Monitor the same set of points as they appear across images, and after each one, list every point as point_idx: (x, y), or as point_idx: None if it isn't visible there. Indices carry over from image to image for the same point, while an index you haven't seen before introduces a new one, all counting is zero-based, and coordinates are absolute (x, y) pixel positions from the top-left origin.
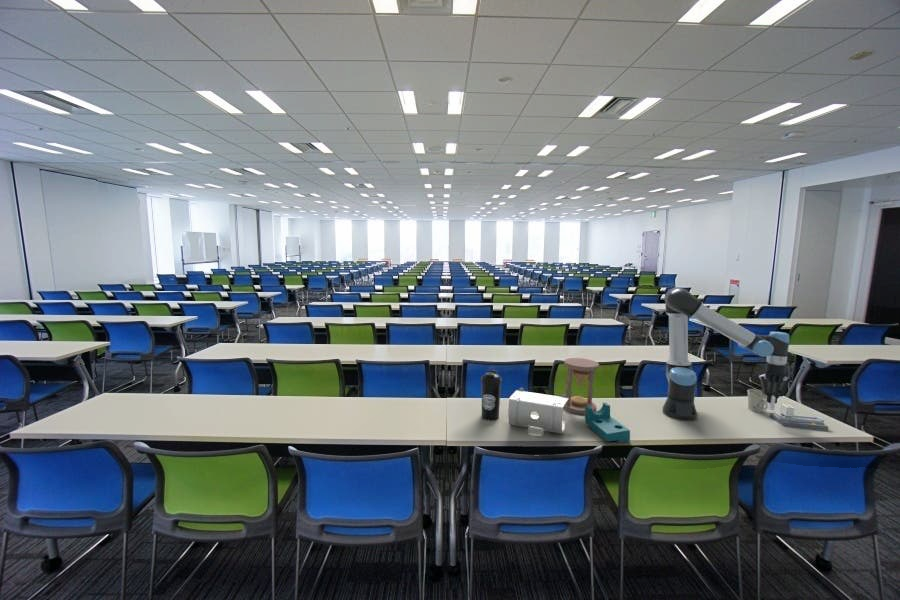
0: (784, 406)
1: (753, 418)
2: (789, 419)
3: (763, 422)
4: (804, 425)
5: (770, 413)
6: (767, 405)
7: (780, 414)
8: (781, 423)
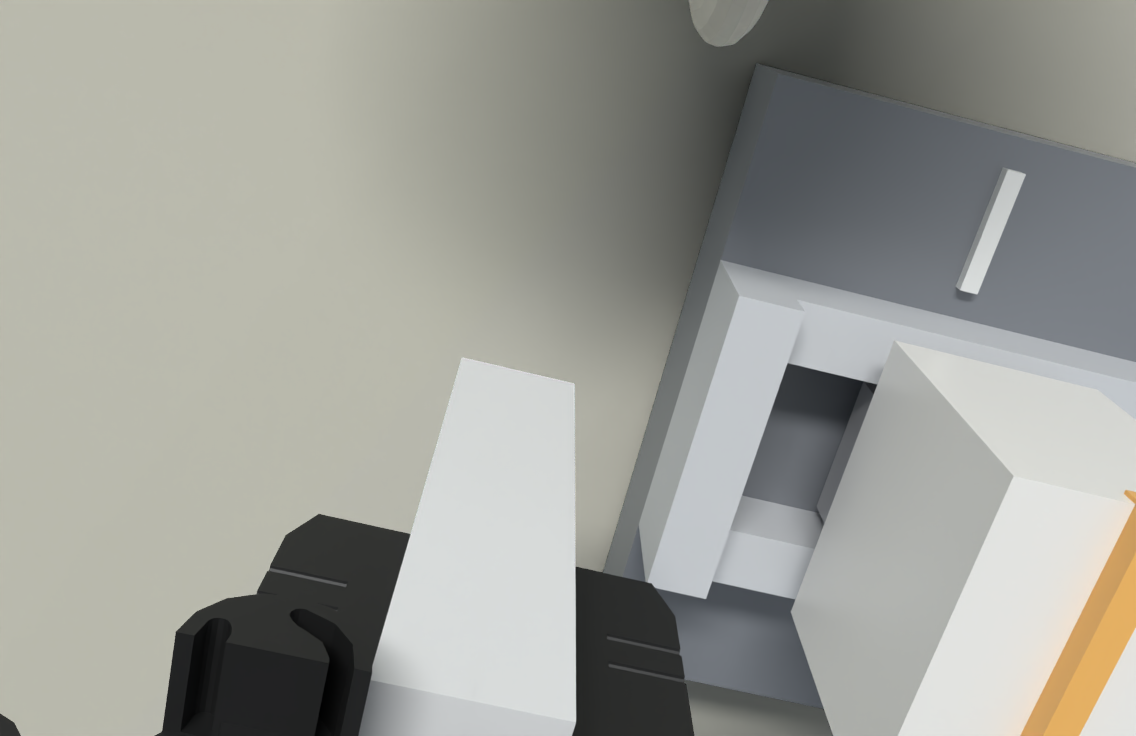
0: (909, 684)
1: (163, 213)
2: None
3: (262, 445)
4: None
5: (771, 90)
6: (734, 41)
7: (728, 519)
8: (612, 566)
